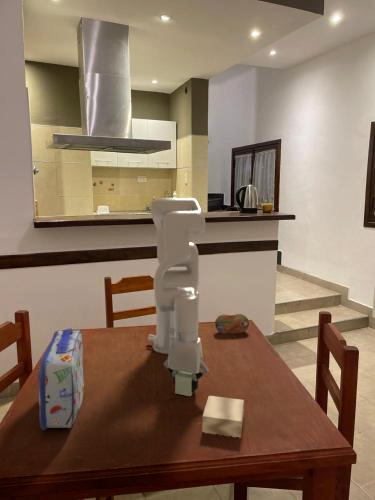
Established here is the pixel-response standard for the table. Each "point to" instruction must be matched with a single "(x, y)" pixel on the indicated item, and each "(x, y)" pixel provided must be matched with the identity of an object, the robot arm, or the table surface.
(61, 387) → the lunch box
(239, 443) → the table surface
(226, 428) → the maple block
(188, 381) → the sage block
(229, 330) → the tin
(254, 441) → the table surface
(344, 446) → the table surface
